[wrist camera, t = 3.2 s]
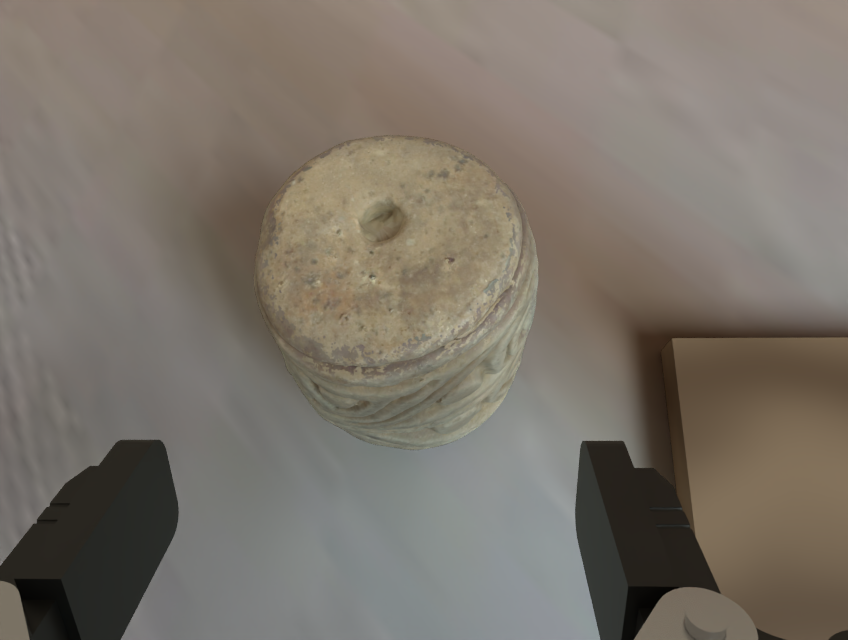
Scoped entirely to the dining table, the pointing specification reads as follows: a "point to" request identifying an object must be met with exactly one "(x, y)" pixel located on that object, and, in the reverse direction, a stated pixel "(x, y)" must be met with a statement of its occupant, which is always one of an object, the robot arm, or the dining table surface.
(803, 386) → the walnut board
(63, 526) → the robot arm
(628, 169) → the dining table surface
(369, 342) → the carving
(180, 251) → the dining table surface
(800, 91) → the dining table surface
